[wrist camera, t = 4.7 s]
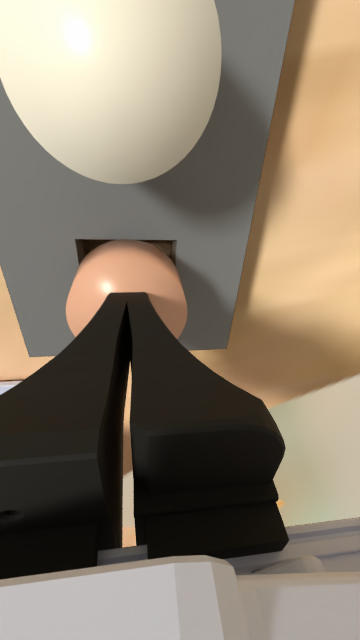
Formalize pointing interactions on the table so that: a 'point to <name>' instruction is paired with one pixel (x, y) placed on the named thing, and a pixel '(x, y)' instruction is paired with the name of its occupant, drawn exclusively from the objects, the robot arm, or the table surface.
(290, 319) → the table surface
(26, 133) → the panel
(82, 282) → the button terracotta
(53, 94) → the button cream
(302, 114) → the table surface
